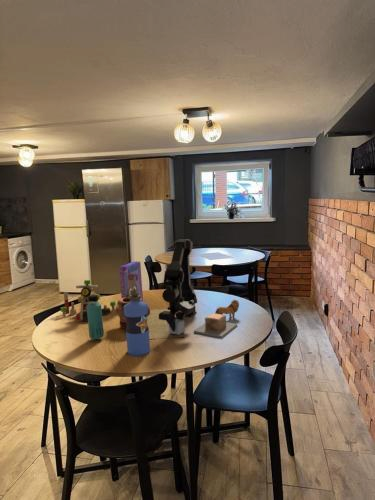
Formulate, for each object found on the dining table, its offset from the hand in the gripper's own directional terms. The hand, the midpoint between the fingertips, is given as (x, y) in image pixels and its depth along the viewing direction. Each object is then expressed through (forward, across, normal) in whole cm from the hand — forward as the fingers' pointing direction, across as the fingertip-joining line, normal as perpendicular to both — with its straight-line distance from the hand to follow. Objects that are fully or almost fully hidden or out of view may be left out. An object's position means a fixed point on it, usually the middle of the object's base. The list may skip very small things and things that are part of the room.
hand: (177, 329), depth 154 cm
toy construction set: (+2, 0, +60) cm, 61 cm away
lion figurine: (+2, +26, -12) cm, 29 cm away
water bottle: (+2, -23, +3) cm, 23 cm away
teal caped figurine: (+2, -22, +28) cm, 36 cm away
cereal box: (+2, +27, +50) cm, 57 cm away
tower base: (+2, +11, -14) cm, 18 cm away
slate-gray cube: (+1, 0, 0) cm, 1 cm away
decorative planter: (+2, -3, +23) cm, 23 cm away
